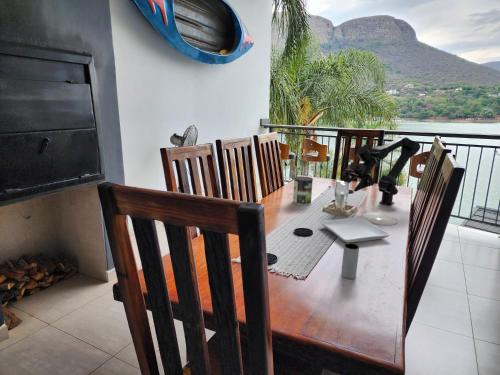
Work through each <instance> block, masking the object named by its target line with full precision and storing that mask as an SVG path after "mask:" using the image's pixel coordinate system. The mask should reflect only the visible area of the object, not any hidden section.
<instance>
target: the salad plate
mask: <svg viewBox="0 0 500 375" xmlns="http://www.w3.org/2000/svg"><path fill="white" fill-rule="evenodd" d="M320 224H321V225H322V226H323V227H324V228H325V229H327V230H328V231H330V232H331V233H332V234H334V235H335V236H337V237H338V238H339V239H340V240H341V241H343V242H345V243H357V242H367V241H374V240H382V239H386V238H388V237H390V236H391V234H390V233H389V232H387V231H385V230H384V229H382V228H380V227H378V226H377V225H376V224H373V223H370V222H368V221H367V220H365V219H363V218H362V216H361V217H360V216H357V217H348V218H345V217H344V218H339V219H338V218H337V219H329V220H327V219H326V220H321V221H320Z"/></svg>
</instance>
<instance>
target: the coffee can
mask: <svg viewBox="0 0 500 375" xmlns="http://www.w3.org/2000/svg"><path fill="white" fill-rule="evenodd" d="M313 181H314V179H313V178H312V177H309V176H295V177H294V178H293V192H292V193H293V195H292V198H293V199H292V203H293V204H295V205H297V206H309V205H311V204H312V193H313V192H312V191H313Z"/></svg>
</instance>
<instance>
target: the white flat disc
mask: <svg viewBox="0 0 500 375" xmlns="http://www.w3.org/2000/svg"><path fill="white" fill-rule="evenodd" d="M361 218H363V219H365V220H367V221H368V222H370V223H372V224H374V225H379V226H393V225H396V224H397V223H398V219H397V218H396V217H394V216H392V215H389V214H386V213H381V212H366V213H363V214H361Z"/></svg>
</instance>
